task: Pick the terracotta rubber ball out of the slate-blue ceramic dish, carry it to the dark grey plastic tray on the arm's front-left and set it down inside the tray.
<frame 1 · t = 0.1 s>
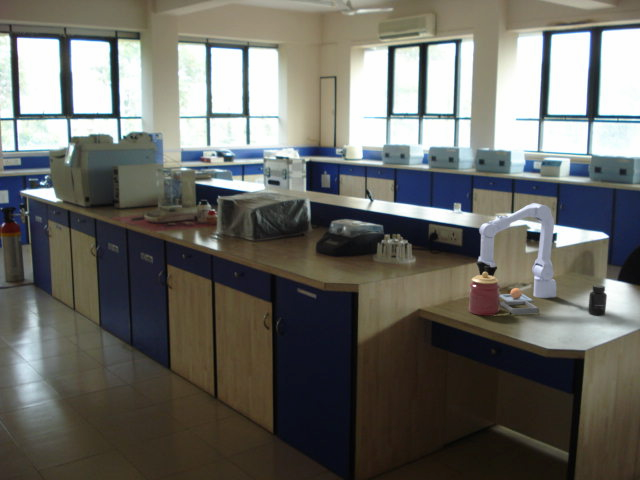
hand: (486, 279, 307), 10 cm above the countertop, tool pointing down, fingers open, 7 cm apart
dish: (515, 301, 308), on the countertop
tray: (518, 309, 293), on the countertop
canister: (483, 312, 291), on the countertop
supplement bottle: (596, 314, 287), on the countertop
ball: (515, 298, 307), point 1 cm above the countertop, touching dish
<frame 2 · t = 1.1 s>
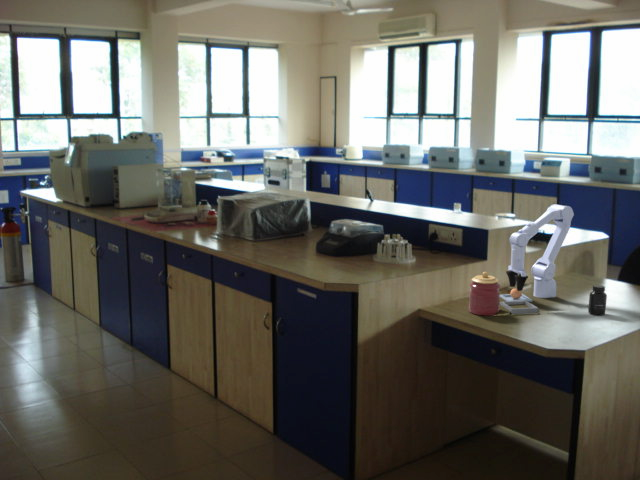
hand: (516, 288, 306), 6 cm above the countertop, tool pointing down, fingers open, 7 cm apart
nothing on the countertop moved.
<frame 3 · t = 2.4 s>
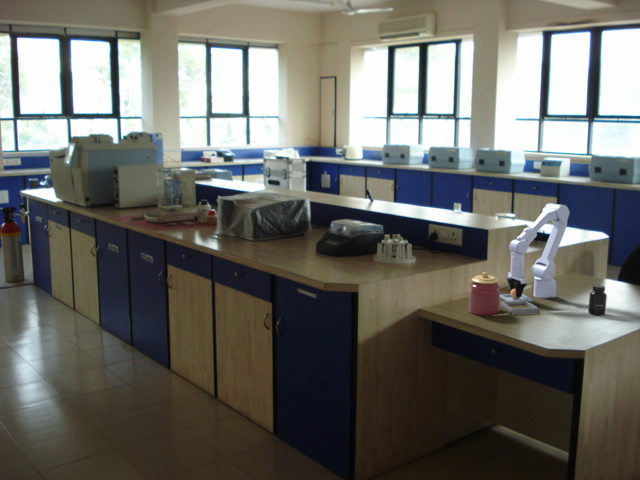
hand: (515, 295, 307), 3 cm above the countertop, tool pointing down, fingers closed on ball, 5 cm apart
ball: (515, 298, 307), point 1 cm above the countertop, touching dish, gripper
everything else where it was.
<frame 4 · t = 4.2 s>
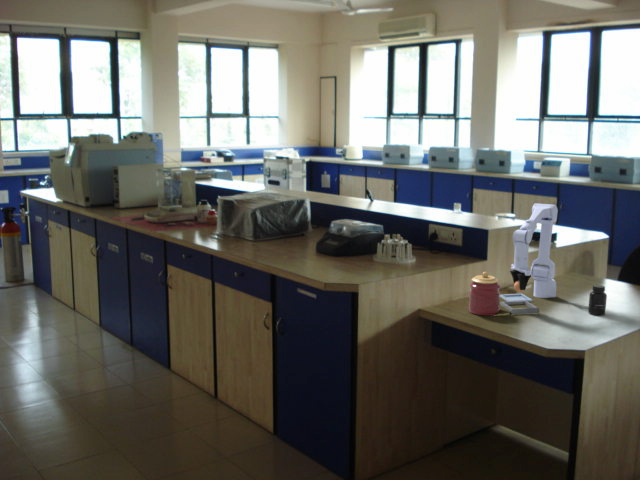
hand: (519, 288, 292), 10 cm above the countertop, tool pointing down, fingers closed on ball, 5 cm apart
ball: (519, 292, 292), point 8 cm above the countertop, touching gripper
everything else where it was.
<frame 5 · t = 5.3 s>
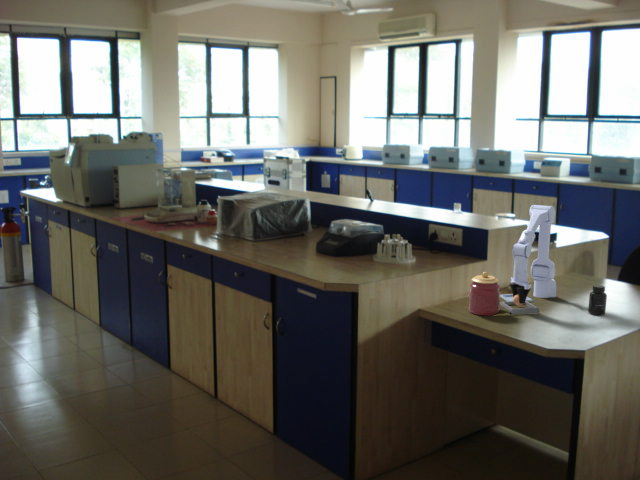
hand: (519, 301, 292), 4 cm above the countertop, tool pointing down, fingers closed on ball, 5 cm apart
ball: (518, 305, 293), point 2 cm above the countertop, touching gripper
everything else where it was.
when the fingers open (3 cm above the countertop, at t = 6.3 s): ball stays where it is, resting on tray.
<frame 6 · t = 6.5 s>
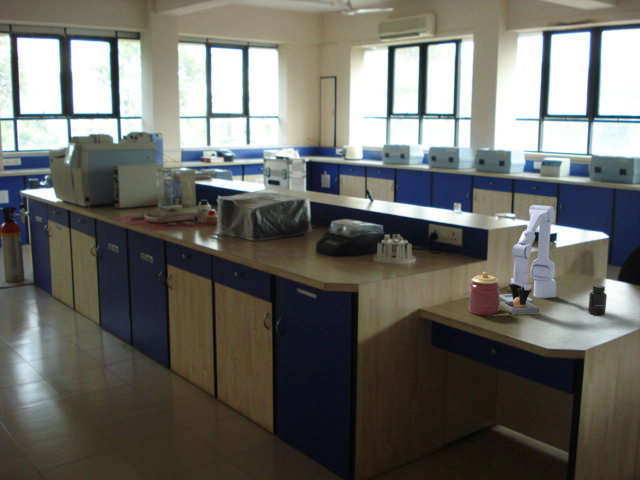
hand: (519, 302, 293), 3 cm above the countertop, tool pointing down, fingers open, 6 cm apart
ball: (518, 308, 293), point 1 cm above the countertop, touching tray
everything else where it was.
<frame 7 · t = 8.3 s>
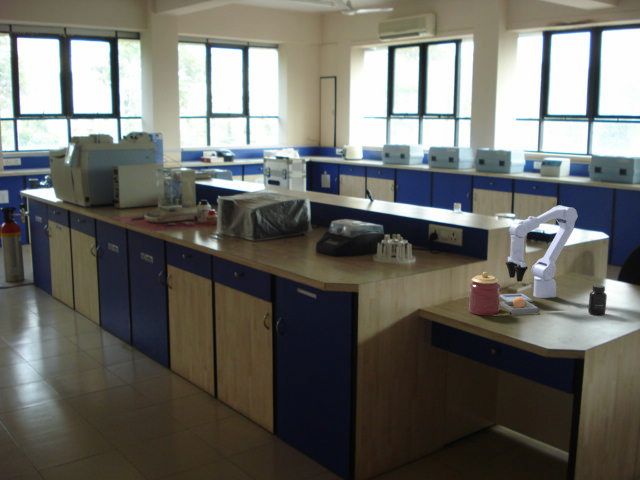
hand: (515, 279, 307), 10 cm above the countertop, tool pointing down, fingers open, 7 cm apart
nothing on the countertop moved.
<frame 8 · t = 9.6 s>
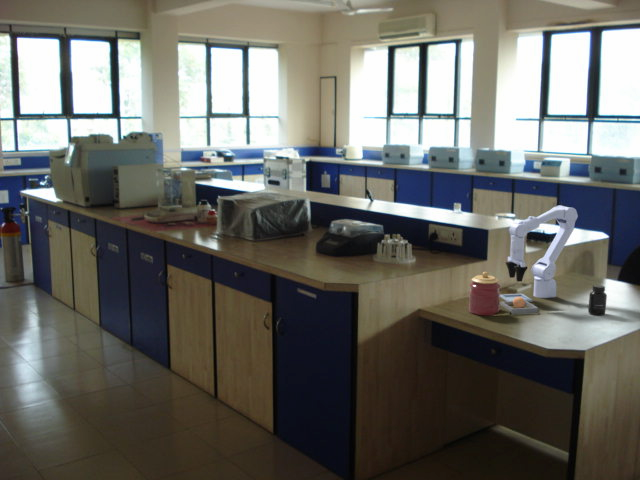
hand: (515, 279, 307), 10 cm above the countertop, tool pointing down, fingers open, 7 cm apart
nothing on the countertop moved.
at the end: ball inside the target area on the tray (0.0 cm from its centre), point 0.8 cm above the tray's base; the gripper is holding nothing; ball touching tray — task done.
